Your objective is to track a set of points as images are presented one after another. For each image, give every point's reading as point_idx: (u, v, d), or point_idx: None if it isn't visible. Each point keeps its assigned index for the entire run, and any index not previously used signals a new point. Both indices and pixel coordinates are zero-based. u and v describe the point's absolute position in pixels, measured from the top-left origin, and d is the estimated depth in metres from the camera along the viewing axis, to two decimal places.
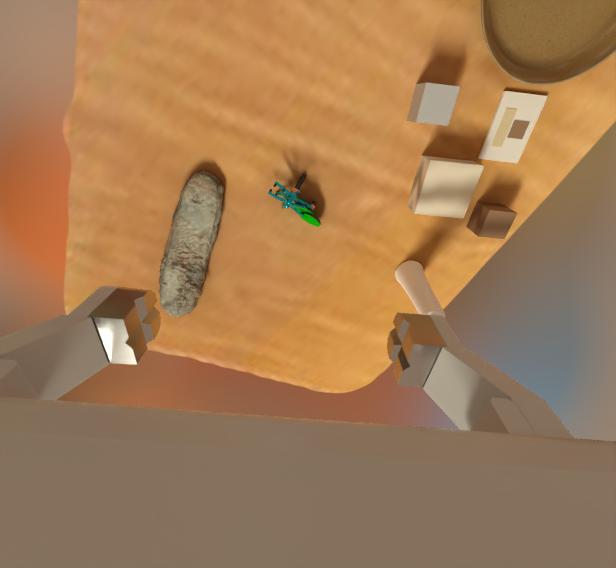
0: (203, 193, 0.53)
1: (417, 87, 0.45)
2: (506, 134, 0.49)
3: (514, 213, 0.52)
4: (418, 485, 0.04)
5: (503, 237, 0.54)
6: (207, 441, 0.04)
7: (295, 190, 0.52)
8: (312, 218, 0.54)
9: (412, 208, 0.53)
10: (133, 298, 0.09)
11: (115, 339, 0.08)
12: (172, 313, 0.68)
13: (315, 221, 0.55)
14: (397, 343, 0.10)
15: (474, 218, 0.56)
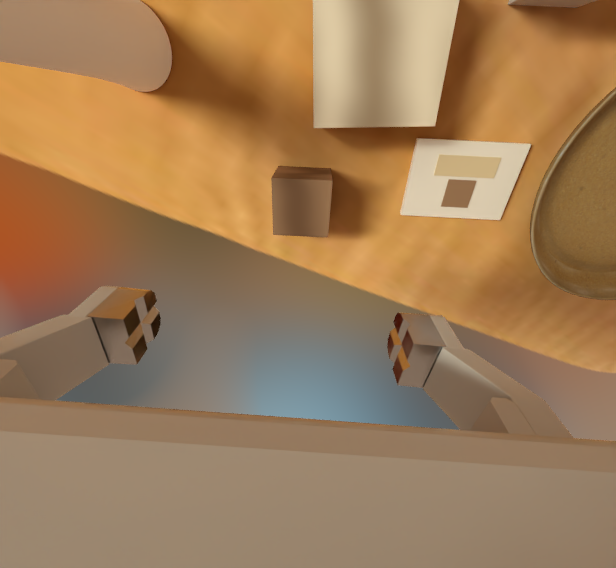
0: None
1: None
2: (455, 175, 0.27)
3: (326, 232, 0.26)
4: (418, 485, 0.04)
5: (276, 231, 0.26)
6: (207, 441, 0.04)
7: None
8: None
9: None
10: (133, 298, 0.09)
11: (115, 339, 0.08)
12: None
13: None
14: (397, 343, 0.10)
15: (301, 170, 0.27)
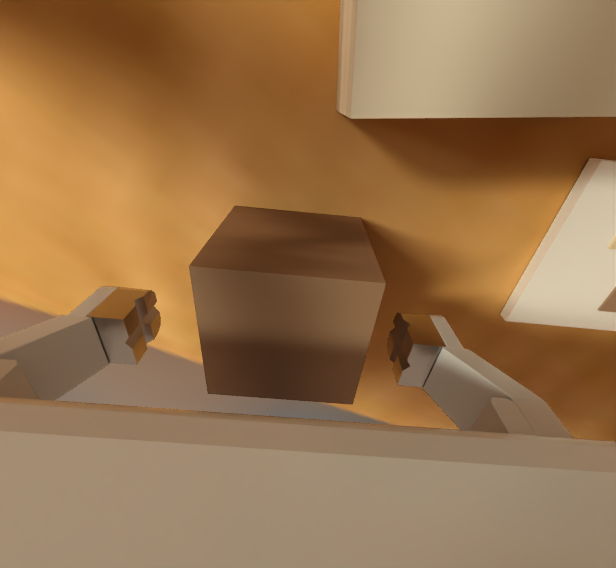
0: None
1: None
2: None
3: (349, 395, 0.10)
4: (418, 485, 0.04)
5: (215, 388, 0.10)
6: (207, 441, 0.04)
7: None
8: None
9: None
10: (133, 298, 0.09)
11: (115, 339, 0.08)
12: None
13: None
14: (397, 343, 0.10)
15: (288, 224, 0.10)
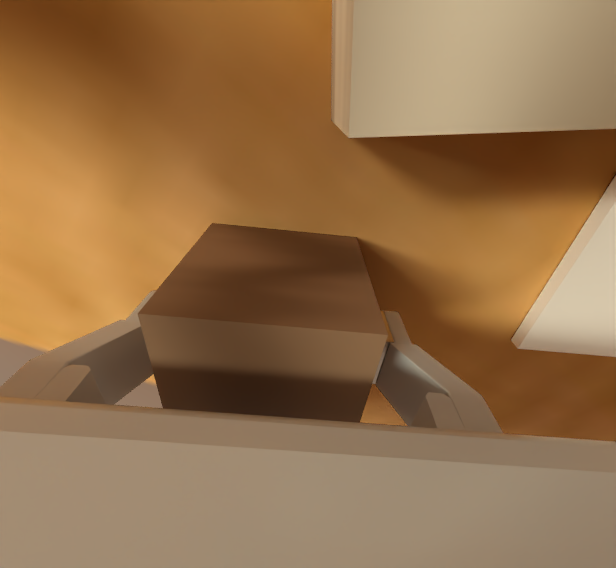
0: None
1: None
2: None
3: None
4: (418, 485, 0.04)
5: None
6: (207, 441, 0.04)
7: None
8: None
9: None
10: None
11: None
12: None
13: None
14: None
15: (272, 248, 0.09)
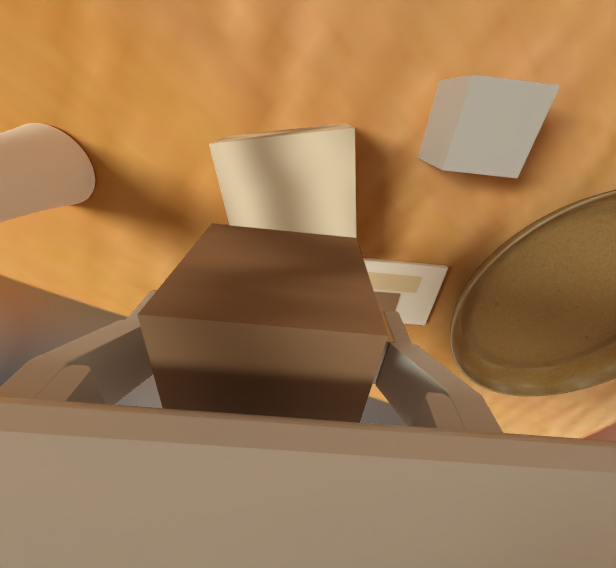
0: None
1: None
2: (380, 288, 0.29)
3: None
4: (418, 485, 0.04)
5: None
6: (207, 441, 0.04)
7: None
8: None
9: (222, 140, 0.19)
10: None
11: None
12: None
13: None
14: None
15: (272, 249, 0.09)
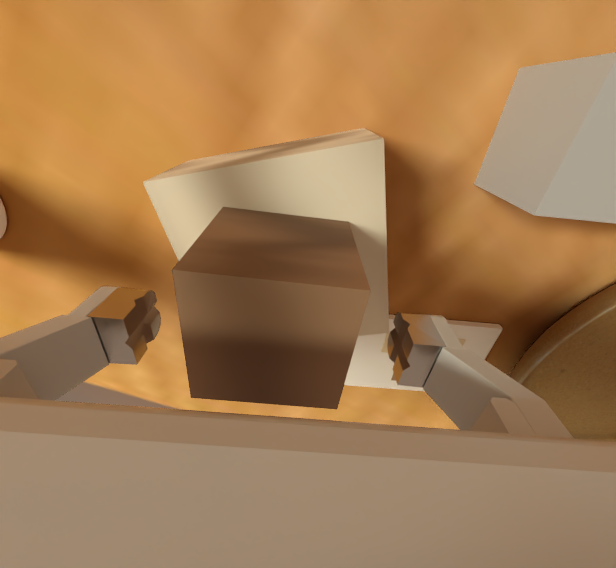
0: None
1: None
2: None
3: (334, 400, 0.10)
4: (418, 485, 0.04)
5: (198, 392, 0.10)
6: (207, 441, 0.04)
7: None
8: None
9: (170, 171, 0.12)
10: (133, 298, 0.09)
11: (115, 339, 0.08)
12: None
13: None
14: (397, 343, 0.10)
15: (276, 227, 0.10)
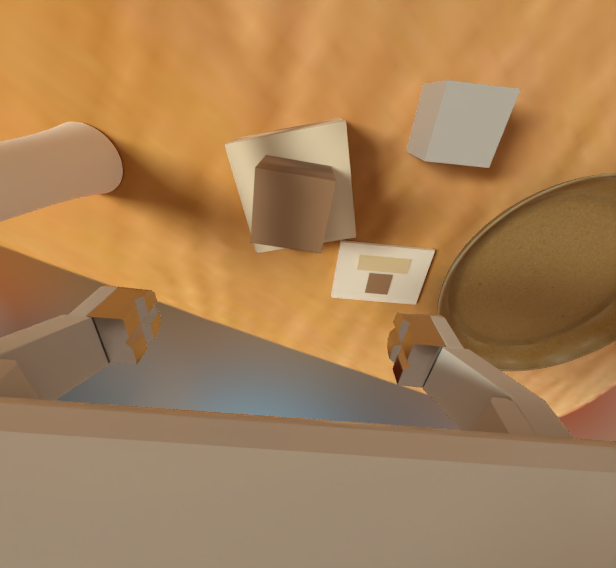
0: None
1: None
2: (374, 270, 0.32)
3: (320, 247, 0.20)
4: (418, 485, 0.04)
5: (254, 239, 0.20)
6: (207, 441, 0.04)
7: None
8: None
9: (234, 140, 0.23)
10: (133, 298, 0.09)
11: (115, 339, 0.08)
12: None
13: None
14: (397, 343, 0.10)
15: (294, 163, 0.21)
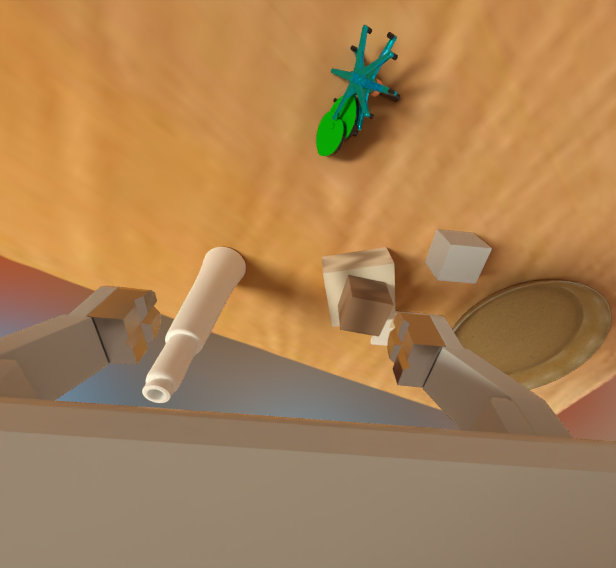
0: None
1: (474, 236, 0.38)
2: None
3: (378, 333, 0.36)
4: (418, 485, 0.04)
5: (343, 328, 0.36)
6: (207, 441, 0.04)
7: None
8: (337, 138, 0.30)
9: (325, 266, 0.39)
10: (133, 298, 0.09)
11: (115, 339, 0.08)
12: None
13: (331, 146, 0.31)
14: (397, 343, 0.10)
15: (366, 284, 0.36)
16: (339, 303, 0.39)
